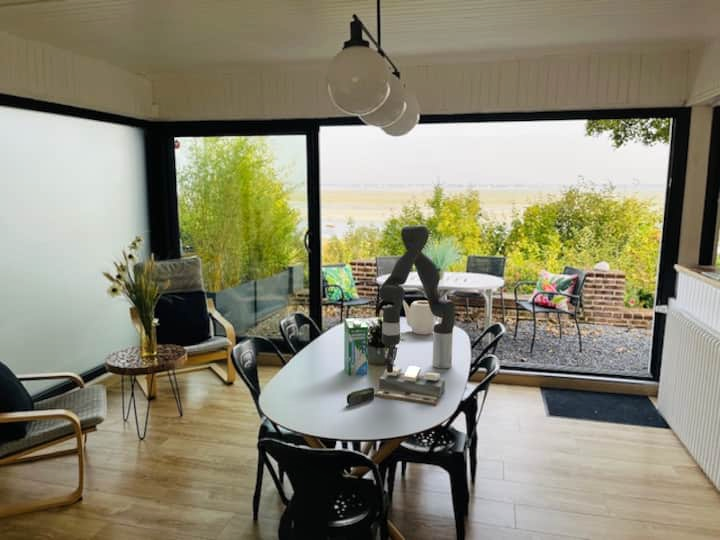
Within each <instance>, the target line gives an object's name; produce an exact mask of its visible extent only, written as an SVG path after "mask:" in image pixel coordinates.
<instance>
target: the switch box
mask: <svg viewBox="0 0 720 540" xmlns="http://www.w3.org/2000/svg"><path fill="white" fill-rule="evenodd" d="M405 373H406V372H400V373H399V375H396V376H394V375H387V374H384V373H383V374H382V375H381V376H380V377H379V385H378V386H379V388H378V389H377V390H376V391H375V392H374V397H379V398H386V399H392V400H399V401H406V402H411V403H418V404H424V405H429V406H437V405H438V403H439V401H440V399H441V398H442V396H443V395H444V393H445V389H446V386H445V385H446V379H445V378H441V377H440V378H439V379H438V380H437V381H435V380H427V379H424V375H420V374H419V375H418V378H417V379H416V381H408V380H404V375H405Z"/></svg>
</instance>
